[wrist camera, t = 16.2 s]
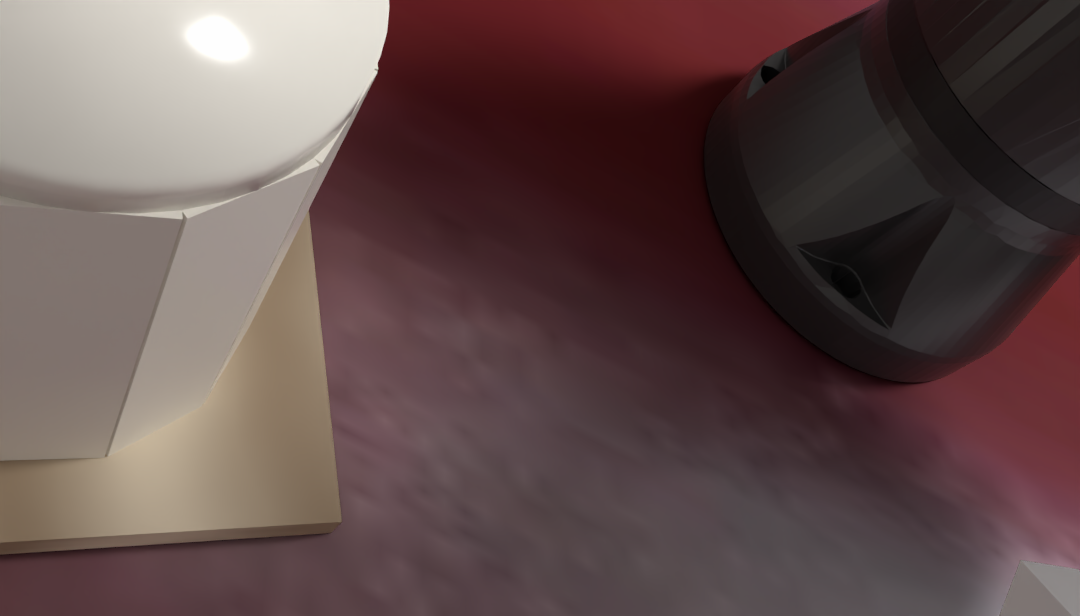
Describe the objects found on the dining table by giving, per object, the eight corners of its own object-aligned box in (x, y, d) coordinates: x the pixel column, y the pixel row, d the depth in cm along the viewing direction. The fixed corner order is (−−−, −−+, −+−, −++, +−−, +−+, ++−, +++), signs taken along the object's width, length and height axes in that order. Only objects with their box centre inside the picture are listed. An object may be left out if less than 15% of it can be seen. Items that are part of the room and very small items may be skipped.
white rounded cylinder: (235, 136, 30) (357, -202, 21) (259, 453, 26) (423, 205, 17) (-170, 87, 26) (-240, -376, 16) (-219, 466, 22) (-350, 133, 12)
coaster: (288, 109, 33) (296, 90, 32) (331, 532, 27) (341, 522, 26) (-250, 36, 26) (-257, 10, 26) (-347, 577, 21) (-358, 564, 20)
